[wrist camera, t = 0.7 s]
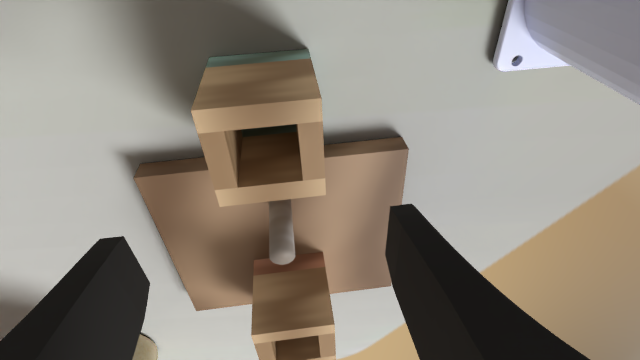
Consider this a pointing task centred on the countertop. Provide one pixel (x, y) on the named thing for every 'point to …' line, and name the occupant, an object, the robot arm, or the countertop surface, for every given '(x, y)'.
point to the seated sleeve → (292, 310)
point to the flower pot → (145, 349)
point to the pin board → (278, 223)
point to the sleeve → (261, 127)
